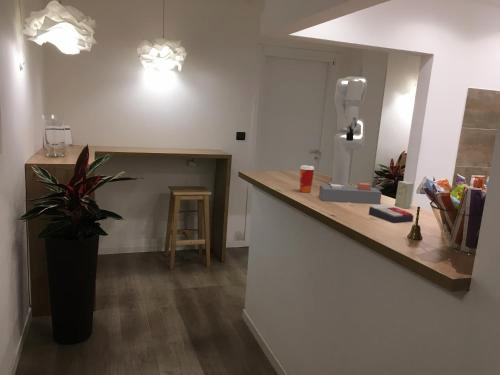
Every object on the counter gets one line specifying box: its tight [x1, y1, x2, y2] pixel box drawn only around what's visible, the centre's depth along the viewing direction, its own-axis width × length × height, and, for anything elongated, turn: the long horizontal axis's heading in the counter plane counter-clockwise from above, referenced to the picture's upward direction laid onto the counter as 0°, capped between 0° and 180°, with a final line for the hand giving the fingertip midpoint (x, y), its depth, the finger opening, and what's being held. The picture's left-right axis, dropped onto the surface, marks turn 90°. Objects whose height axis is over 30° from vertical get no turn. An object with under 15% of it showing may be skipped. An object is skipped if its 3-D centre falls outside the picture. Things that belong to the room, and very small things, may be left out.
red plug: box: [357, 182, 372, 191], centre depth 208 cm, size 5×5×7 cm
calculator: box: [368, 204, 414, 224], centre depth 177 cm, size 11×4×15 cm
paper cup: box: [299, 164, 315, 194], centre depth 222 cm, size 8×8×14 cm
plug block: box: [318, 184, 382, 205], centre depth 209 cm, size 12×28×6 cm, turn 90°
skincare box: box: [394, 180, 415, 209], centre depth 199 cm, size 6×4×12 cm
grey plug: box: [330, 184, 342, 189], centre depth 208 cm, size 5×5×7 cm
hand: (349, 140), depth 215 cm, fingers closed
